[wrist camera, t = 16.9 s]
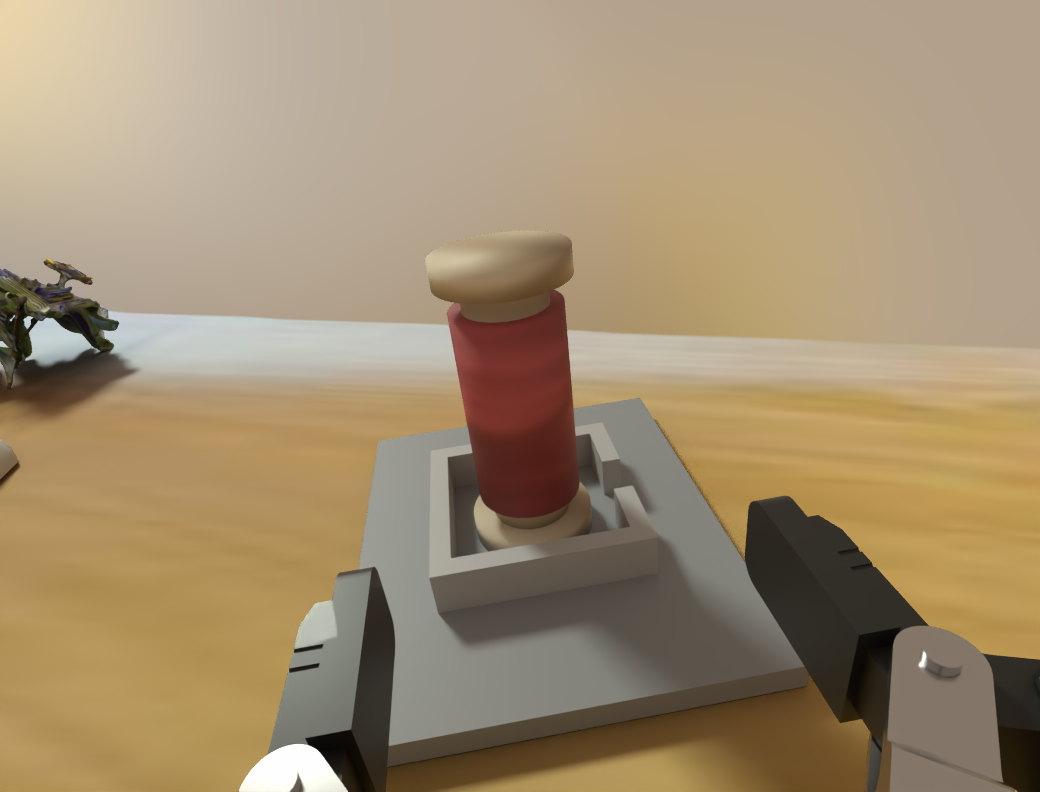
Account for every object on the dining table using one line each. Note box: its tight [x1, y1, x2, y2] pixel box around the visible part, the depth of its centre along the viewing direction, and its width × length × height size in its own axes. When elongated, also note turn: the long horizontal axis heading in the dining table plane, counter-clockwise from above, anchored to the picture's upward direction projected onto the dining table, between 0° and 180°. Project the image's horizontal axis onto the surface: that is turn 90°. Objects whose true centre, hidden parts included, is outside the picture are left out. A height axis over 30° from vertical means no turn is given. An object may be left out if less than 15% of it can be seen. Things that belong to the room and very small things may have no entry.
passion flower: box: [0, 259, 119, 390], centre depth 51 cm, size 11×11×12 cm
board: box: [359, 398, 809, 767], centre depth 26 cm, size 18×15×3 cm
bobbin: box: [425, 230, 592, 552], centre depth 24 cm, size 5×5×12 cm
